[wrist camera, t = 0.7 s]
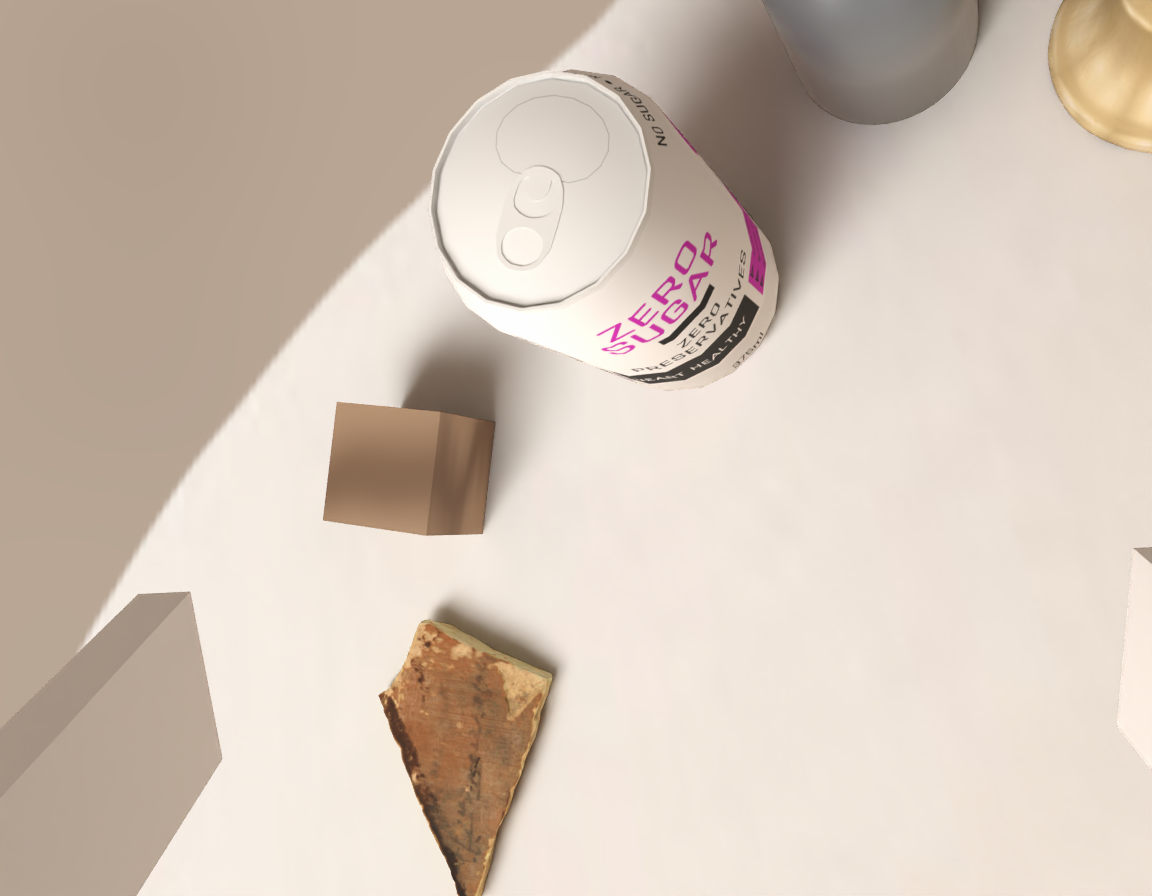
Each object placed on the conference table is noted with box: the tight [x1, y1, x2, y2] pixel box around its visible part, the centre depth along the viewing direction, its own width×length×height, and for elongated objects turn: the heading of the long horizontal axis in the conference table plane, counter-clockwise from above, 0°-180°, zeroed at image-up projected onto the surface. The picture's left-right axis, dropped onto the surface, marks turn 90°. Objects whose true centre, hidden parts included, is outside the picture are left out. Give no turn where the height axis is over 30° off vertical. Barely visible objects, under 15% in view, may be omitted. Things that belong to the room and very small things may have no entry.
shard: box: [378, 620, 553, 896], centre depth 47 cm, size 11×8×2 cm
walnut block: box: [323, 402, 495, 536], centre depth 46 cm, size 5×5×5 cm
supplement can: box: [428, 70, 779, 391], centre depth 37 cm, size 8×8×15 cm
